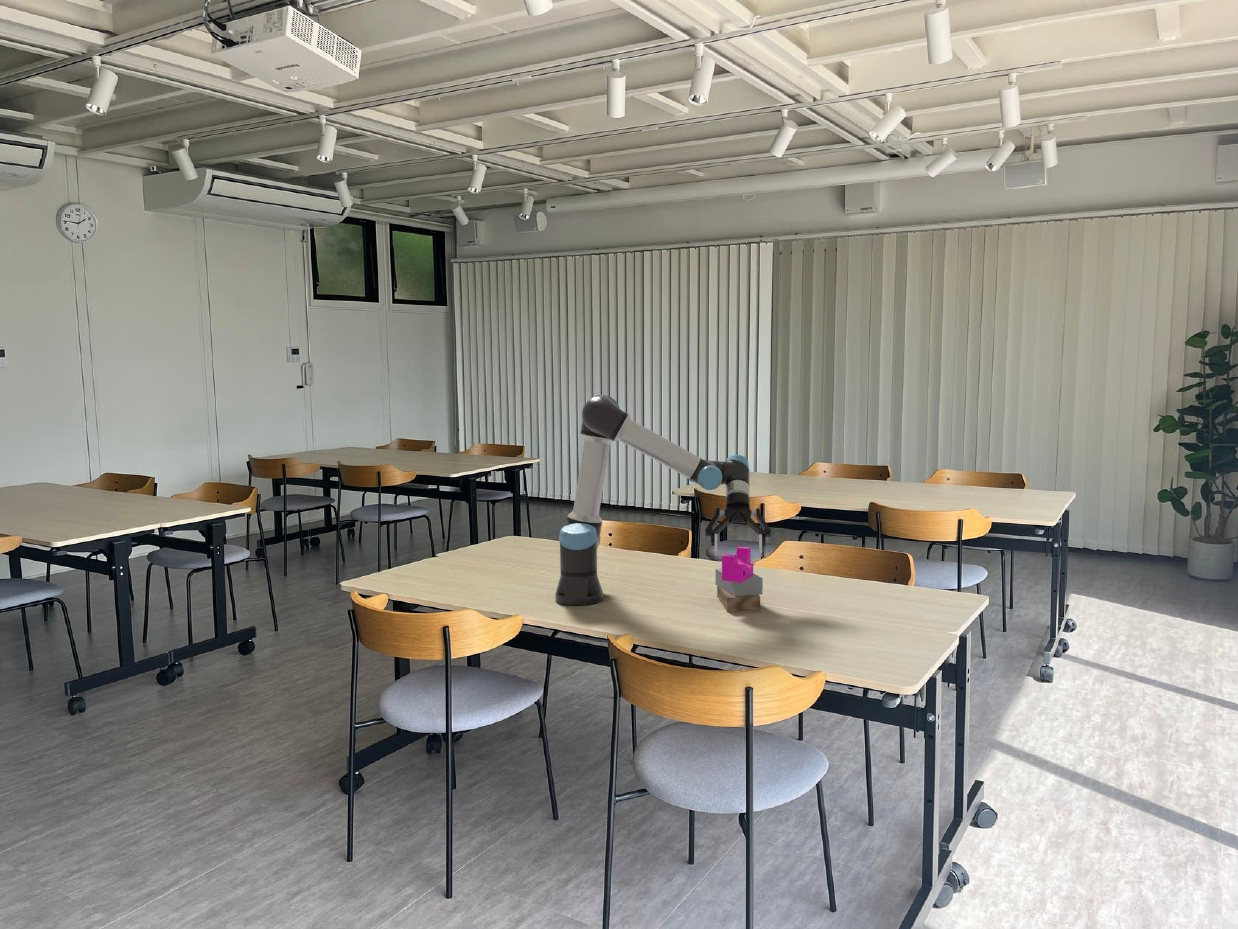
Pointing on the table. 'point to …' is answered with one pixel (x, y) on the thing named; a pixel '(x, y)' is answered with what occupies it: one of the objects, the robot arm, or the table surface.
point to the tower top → (740, 585)
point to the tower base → (738, 601)
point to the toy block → (737, 565)
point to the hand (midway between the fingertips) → (738, 554)
